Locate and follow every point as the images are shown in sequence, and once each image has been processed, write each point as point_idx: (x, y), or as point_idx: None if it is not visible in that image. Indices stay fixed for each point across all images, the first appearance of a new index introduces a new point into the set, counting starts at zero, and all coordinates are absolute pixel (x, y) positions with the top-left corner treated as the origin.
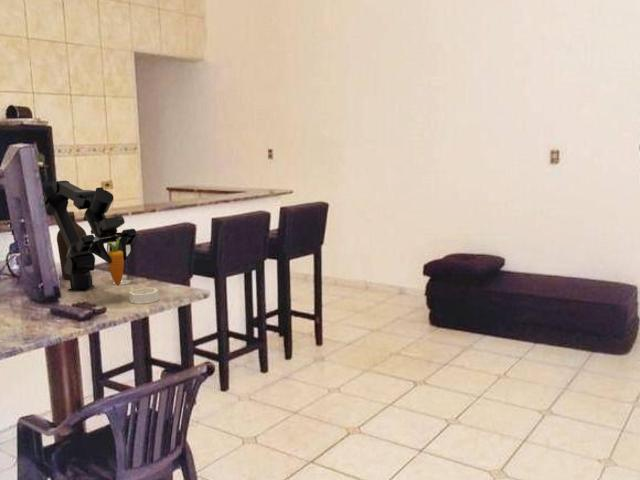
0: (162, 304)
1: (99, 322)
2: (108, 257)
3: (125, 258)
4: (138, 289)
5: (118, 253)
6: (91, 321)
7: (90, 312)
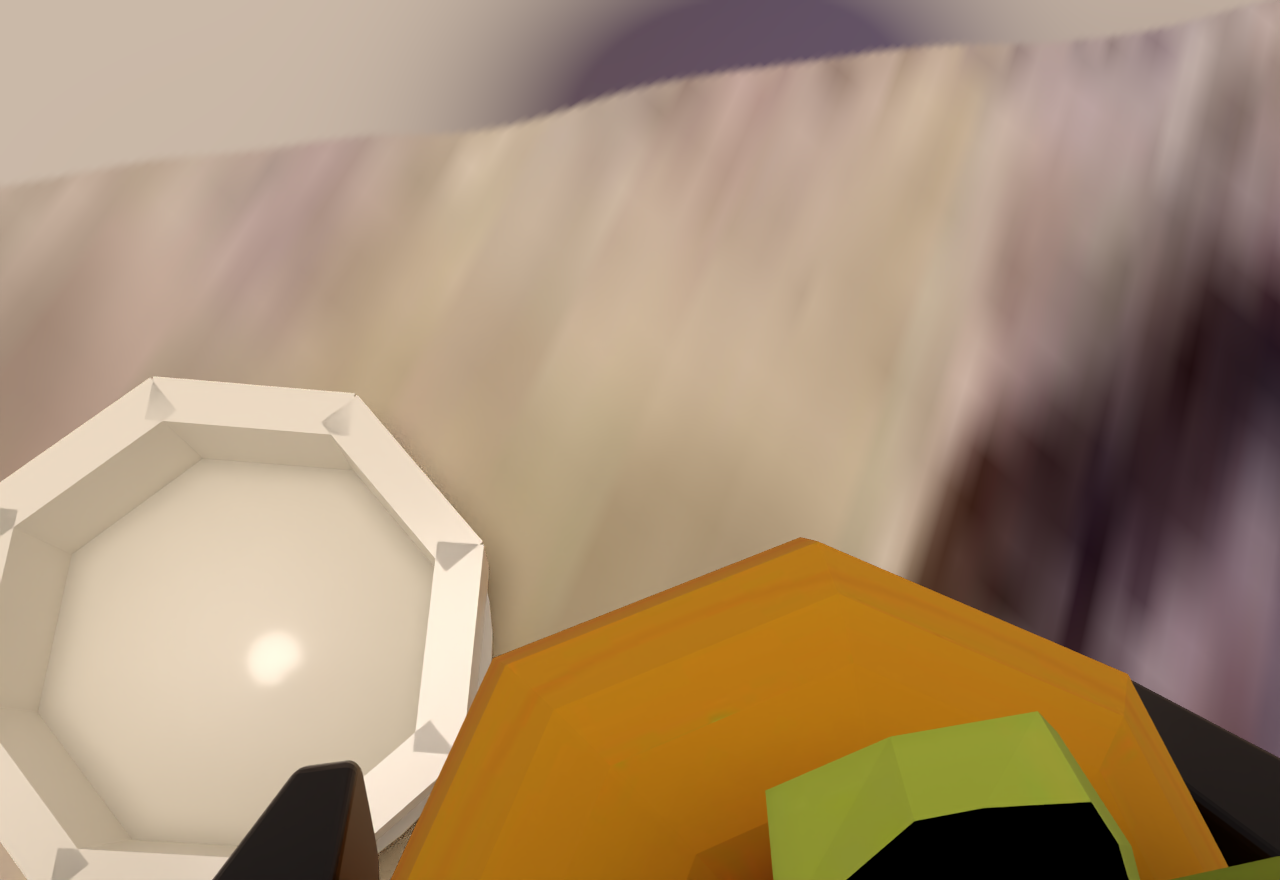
0: (198, 230)
1: (1136, 96)
2: (1241, 775)
3: (356, 784)
4: (207, 854)
5: (803, 564)
6: (1206, 195)
7: (1138, 589)
